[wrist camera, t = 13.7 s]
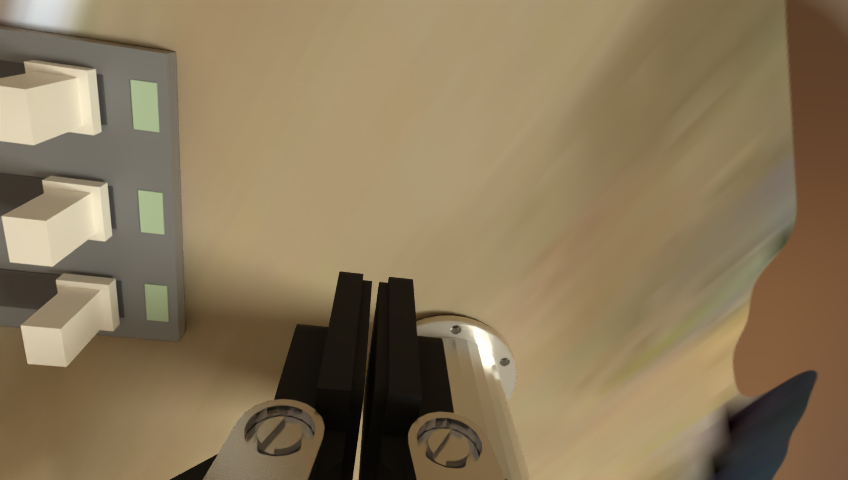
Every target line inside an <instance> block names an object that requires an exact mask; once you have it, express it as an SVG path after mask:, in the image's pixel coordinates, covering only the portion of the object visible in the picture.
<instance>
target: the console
mask: <svg viewBox="0 0 848 480" xmlns="http://www.w3.org/2000/svg"><path fill="white" fill-rule="evenodd" d="M31 60H37V61H44V62H51V63H58V64H65V65H72V66H79V67H86V68H93V69H96V76H97V87H98V98H99V108H100V119H101V130H102V132H100V133H98V134H96V135H87V134H80V133H72V132H67V133H64V134H62V135H59V136H57V137H54V138H51V139H49V140H46V141H44V142H41V143H38V144H36V145H27V144H20V143H12V142H4V141H0V326H5V327H16V328H21V324H23V323H24V322H25V321H26V320H27V319H28V318H30V317H31V316H32V315H33V314H34V313H35V312H37V311H38V310H39V309H40V308H41V307H42V306H44V305H45V304H46V303H47V302H48V301H49V300H51V299H52V298H53V297H54V296H55V295H56V294H58V292H57V285H56V279H57V278H59V277H60V276H61V275H62V274H63V273H66V274H76V275H86V276H95V277H105V278H115V279H116V289H117V300H118V310H119V321H120V324H119V325H118V327H117V328H116V329H115V330H114V331H104V330H99V332H98V333H97V334H96V335H105V336H116V337H127V338H139V339H150V340H161V341H172V342H179V341H180V340H181V338H182V337H183V335H184V333H185V332H186V324H185V296H184V267H183V238H182V209H181V180H180V152H179V123H178V94H177V65H176V52H173V51H166V50H159V49H153V48H146V47H139V46H133V45H126V44H120V43H113V42H106V41H100V40H93V39H86V38H80V37H73V36H67V35H60V34H53V33H47V32H40V31H33V30H27V29H20V28H13V27H7V26H0V78H4V77H9V76H15V75H20V74H26V73H25V66H24V61H31ZM50 176H57V177H66V178H74V179H82V180H90V181H98V182H107V184H108V195H109V206H110V217H111V227H112V236H111V237H110V238H109V239H108V240H106V241H97V240H87V241H86V242H84V243H83V244H82V245H80V246H79V247H78V248H76V249H75V250H74V251H72V252H71V253H70V254H69V255H67V256H66V257H65V258H63V259H62V260H61V261H59V262H58V263H57V264H56V265H54V266H53V267H50V266H41V265H31V264H21V263H12V262H10V260H9V255H8V249H7V244H6V238H5V233H4V228H3V222H2V217H1V216H2V215H4V214H6V213H8V212H10V211H12V210H14V209H16V208H17V207H19V206H21V205H23V204H25V203H27V202H29V201H30V200H32V199H34V198H36V197H38V196H40V195H42V194H44V190H43V183H42V180H44V179H46V178H48V177H50Z"/></svg>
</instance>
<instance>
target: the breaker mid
mask: <svg viewBox="0 0 848 480" xmlns="http://www.w3.org/2000/svg"><path fill="white" fill-rule="evenodd" d="M42 183H43V190H44V194H42V195H40V196H38V197H36V198H34V199H32V200H30V201H29V202H27V203H25V204H23V205H21V206H19V207H17V208H16V209H14V210H12V211H10V212H8V213H6V214H4V215H2V216H1V217H2V222H3V228H4V233H5V238H6V244H7V249H8V255H9V260H10V262H12V263H21V264H31V265H41V266H50V267H53V266H54V265H56V264H57V263H58V262H59V261H61V260H62V259H63V258H65V257H66V256H67V255H69V254H70V253H71V252H72V251H74V250H75V249H76V248H78V247H79V246H80V245H82V244H83V243H84V242H86V241H87V240H97V241H106V240H108V239H109V238H110V237H111V236H112V227H111V217H110V206H109V195H108V184H107V182H98V181H90V180H82V179H74V178H66V177H57V176H50V177H48V178H46V179H44V180H42Z"/></svg>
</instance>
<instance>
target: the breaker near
mask: <svg viewBox="0 0 848 480" xmlns="http://www.w3.org/2000/svg"><path fill="white" fill-rule="evenodd" d="M24 66H25V73H26V74H20V75H15V76H9V77H4V78H0V141H4V142H12V143H20V144H27V145H36V144H38V143H41V142H44V141H46V140H49V139H51V138H54V137H57V136H59V135H62V134H64V133H67V132H72V133H80V134H87V135H96V134H98V133H100V132H102V130H101V119H100V108H99V98H98V87H97V76H96V69H93V68H86V67H79V66H72V65H65V64H58V63H51V62H44V61H37V60H31V61H24Z"/></svg>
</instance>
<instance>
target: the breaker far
mask: <svg viewBox="0 0 848 480" xmlns="http://www.w3.org/2000/svg"><path fill="white" fill-rule="evenodd" d="M56 285H57V292H58V294H56V295H55V296H54V297H53V298H52V299H51V300H49V301H48V302H47V303H46V304H45V305H44V306H42V307H41V308H40V309H39V310H38V311H37V312H35V313H34V314H33V315H32V316H31V317H30V318H28V319H27V320H26V321H25V322H24V323H23V324H21V331H22V336H23V342H24V347H25V353H26V358H27V364H36V365H48V366H60V367H67V366H68V365H69V364H70V363H71V361H72V360H73V359H74V358H75V357H76V356H77V355H78V354H79V353H80V352H81V350H82V349H83V348H84V347H85V346H86V345H87V344H88V343H89V342H90V340H91V339H92V338H93V337H94V336H95V335H96V334H97V333H98V332H99V330H104V331H114V330H115V329H116V328H117V327H118V325H119V324H120V321H119V310H118V300H117V289H116V279H115V278H105V277H95V276H86V275H76V274H66V273H63V274H62V275H61V276H60V277H59V278H57V279H56Z"/></svg>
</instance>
